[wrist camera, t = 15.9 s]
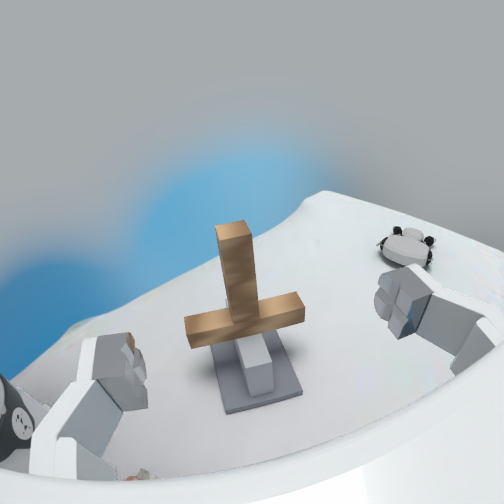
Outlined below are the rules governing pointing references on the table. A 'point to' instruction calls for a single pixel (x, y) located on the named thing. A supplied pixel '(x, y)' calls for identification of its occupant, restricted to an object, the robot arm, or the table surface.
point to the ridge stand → (254, 371)
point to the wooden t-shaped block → (241, 296)
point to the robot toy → (407, 247)
